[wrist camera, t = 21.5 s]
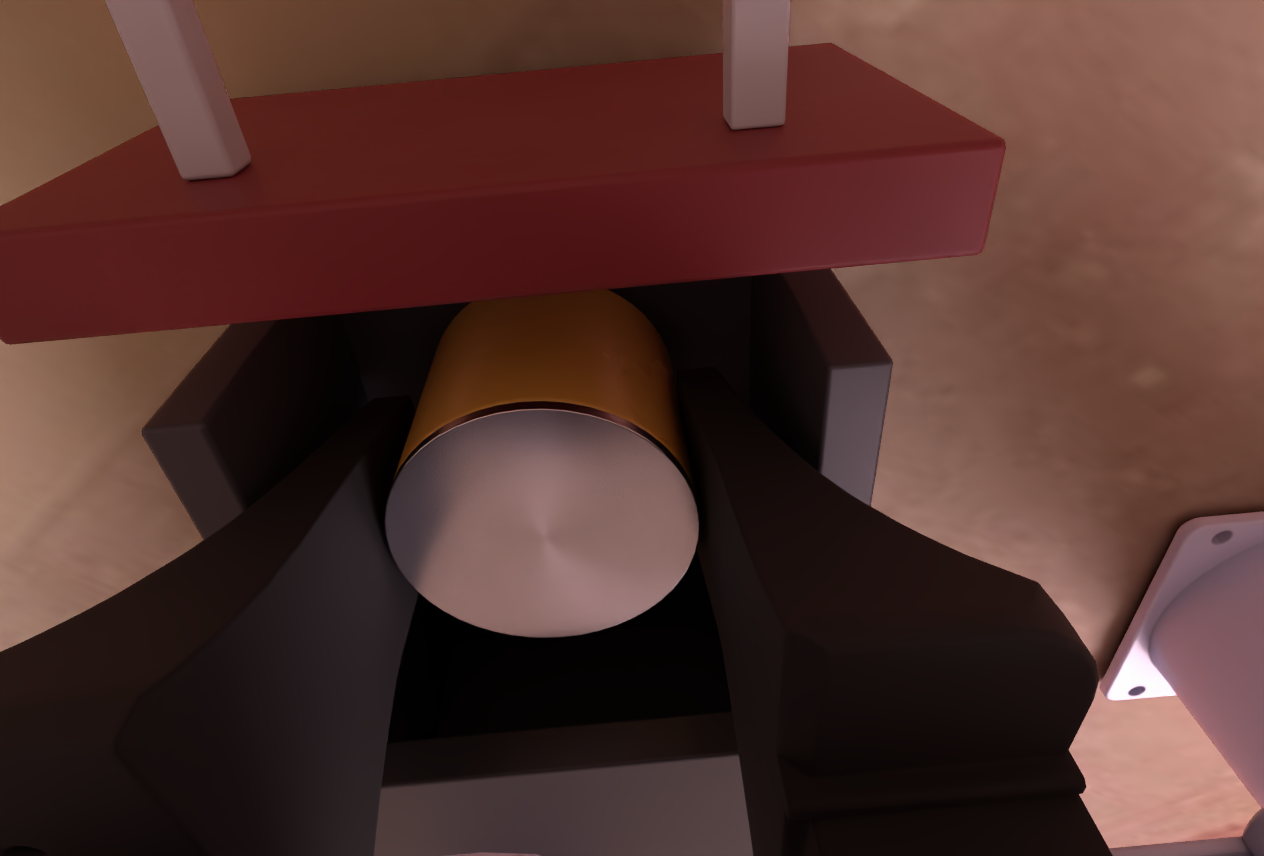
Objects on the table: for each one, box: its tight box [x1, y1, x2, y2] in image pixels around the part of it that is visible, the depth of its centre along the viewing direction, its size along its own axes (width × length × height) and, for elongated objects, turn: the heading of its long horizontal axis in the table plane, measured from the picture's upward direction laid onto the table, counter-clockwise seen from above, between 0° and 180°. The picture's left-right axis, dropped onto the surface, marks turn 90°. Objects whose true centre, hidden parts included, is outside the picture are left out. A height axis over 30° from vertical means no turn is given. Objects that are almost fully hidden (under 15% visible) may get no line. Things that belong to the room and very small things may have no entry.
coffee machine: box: [374, 711, 753, 856], centre depth 19 cm, size 15×12×8 cm
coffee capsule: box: [384, 289, 700, 638], centre depth 12 cm, size 4×4×4 cm
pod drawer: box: [0, 0, 1006, 742], centre depth 12 cm, size 18×10×6 cm, turn 4°
